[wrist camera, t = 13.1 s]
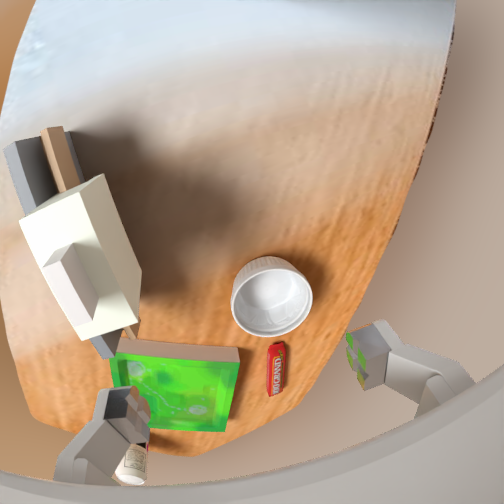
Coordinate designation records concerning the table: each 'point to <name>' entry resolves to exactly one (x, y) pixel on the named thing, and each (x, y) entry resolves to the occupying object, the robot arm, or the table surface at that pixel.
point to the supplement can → (134, 464)
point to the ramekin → (270, 297)
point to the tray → (179, 381)
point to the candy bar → (275, 368)
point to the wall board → (54, 193)
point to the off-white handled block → (86, 258)
